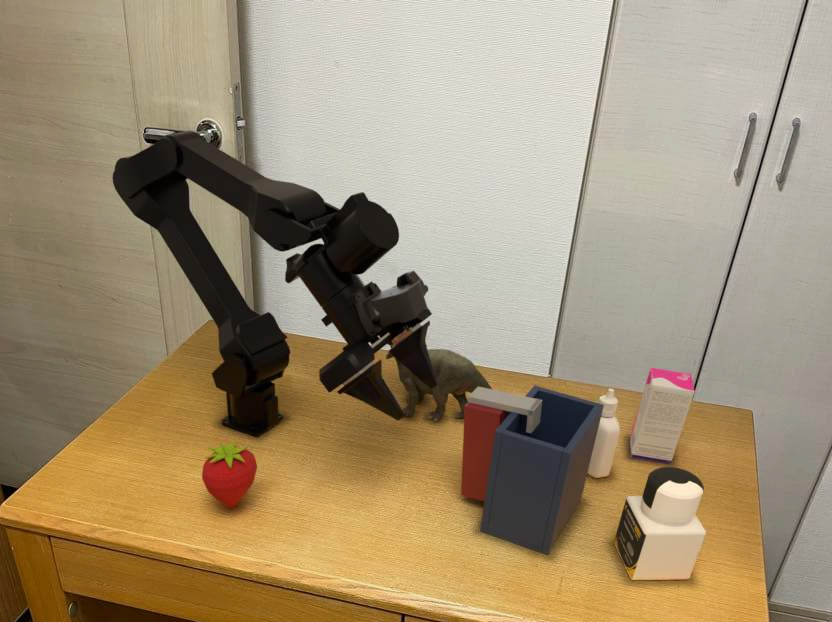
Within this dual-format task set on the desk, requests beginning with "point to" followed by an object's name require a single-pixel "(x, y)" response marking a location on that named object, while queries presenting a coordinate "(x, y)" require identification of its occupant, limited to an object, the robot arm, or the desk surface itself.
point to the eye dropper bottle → (605, 437)
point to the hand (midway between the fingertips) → (418, 402)
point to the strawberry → (229, 473)
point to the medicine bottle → (662, 527)
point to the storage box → (540, 470)
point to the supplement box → (661, 415)
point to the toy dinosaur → (442, 381)
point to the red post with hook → (489, 433)
